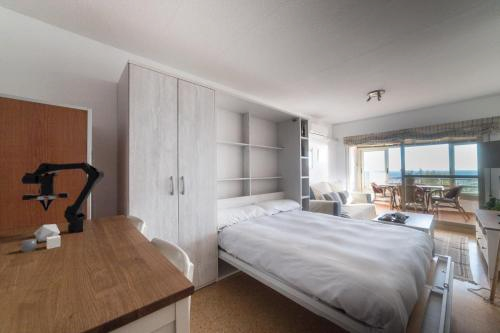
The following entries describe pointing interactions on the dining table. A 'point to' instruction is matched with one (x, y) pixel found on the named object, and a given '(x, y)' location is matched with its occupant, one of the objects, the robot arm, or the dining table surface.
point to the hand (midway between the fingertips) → (46, 210)
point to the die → (46, 232)
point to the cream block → (53, 242)
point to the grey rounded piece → (29, 245)
